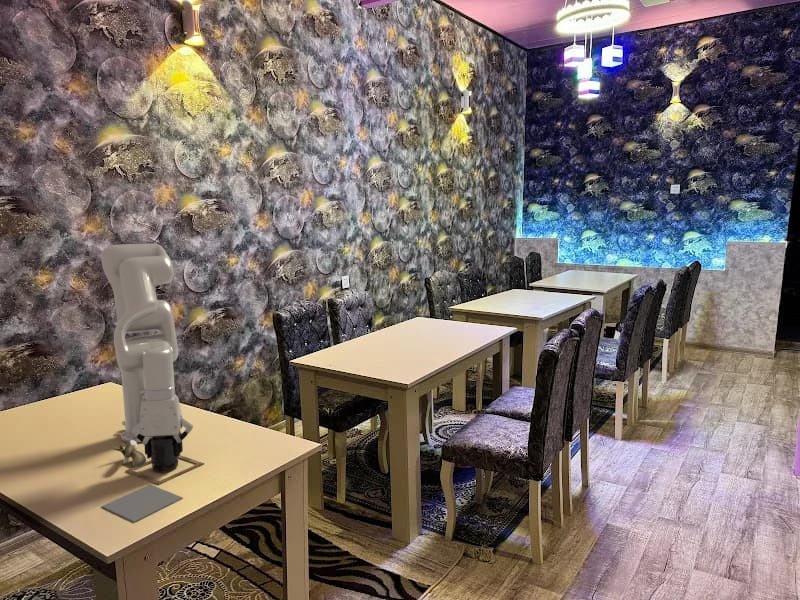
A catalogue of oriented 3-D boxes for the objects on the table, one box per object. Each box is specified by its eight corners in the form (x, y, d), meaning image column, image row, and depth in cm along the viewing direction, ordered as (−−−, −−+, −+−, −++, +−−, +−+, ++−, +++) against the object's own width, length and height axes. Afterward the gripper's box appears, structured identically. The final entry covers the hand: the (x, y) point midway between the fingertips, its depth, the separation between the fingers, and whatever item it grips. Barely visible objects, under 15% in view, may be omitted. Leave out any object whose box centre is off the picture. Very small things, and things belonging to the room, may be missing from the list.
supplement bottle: (170, 460, 164) (167, 419, 162) (183, 466, 160) (180, 425, 158) (146, 468, 159) (143, 426, 157) (159, 475, 155) (156, 432, 153)
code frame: (125, 471, 157) (125, 470, 157) (171, 452, 169) (170, 451, 169) (158, 485, 150) (158, 483, 150) (204, 464, 162) (203, 463, 162)
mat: (101, 507, 139) (101, 506, 138) (150, 485, 149) (150, 484, 149) (134, 522, 132) (134, 521, 132) (182, 498, 143) (182, 497, 143)
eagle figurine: (105, 460, 161) (120, 462, 156) (115, 435, 164) (130, 436, 158) (131, 467, 166) (146, 469, 161) (140, 442, 169) (155, 443, 163)
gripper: (121, 399, 151) (126, 463, 154) (190, 396, 153) (194, 459, 156) (130, 390, 158) (135, 451, 161) (196, 387, 161) (199, 448, 164)
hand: (164, 455), depth 159 cm, fingers closed on supplement bottle, 6 cm apart
